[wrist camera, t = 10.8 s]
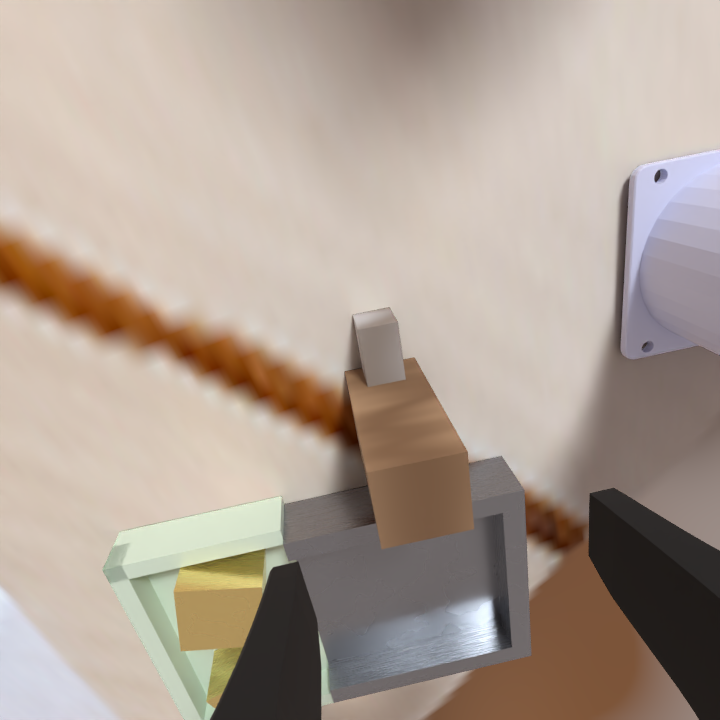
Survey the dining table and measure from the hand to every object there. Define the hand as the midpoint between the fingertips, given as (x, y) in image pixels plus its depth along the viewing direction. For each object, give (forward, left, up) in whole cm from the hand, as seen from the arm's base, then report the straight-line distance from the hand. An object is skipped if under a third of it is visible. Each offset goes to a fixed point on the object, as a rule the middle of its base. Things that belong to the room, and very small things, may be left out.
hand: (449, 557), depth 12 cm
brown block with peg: (0, +1, -10) cm, 10 cm away
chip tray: (+9, +11, -10) cm, 17 cm away
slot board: (0, +11, -10) cm, 15 cm away
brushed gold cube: (+9, +8, -9) cm, 15 cm away
